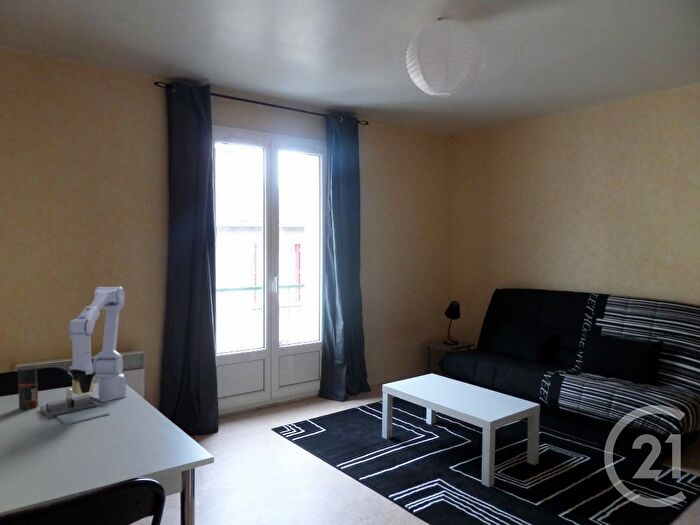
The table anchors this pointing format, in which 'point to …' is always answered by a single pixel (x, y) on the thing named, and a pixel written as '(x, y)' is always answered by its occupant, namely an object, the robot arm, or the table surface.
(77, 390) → the collar
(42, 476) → the table surface
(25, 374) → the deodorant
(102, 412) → the mat
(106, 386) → the robot arm
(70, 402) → the vise
